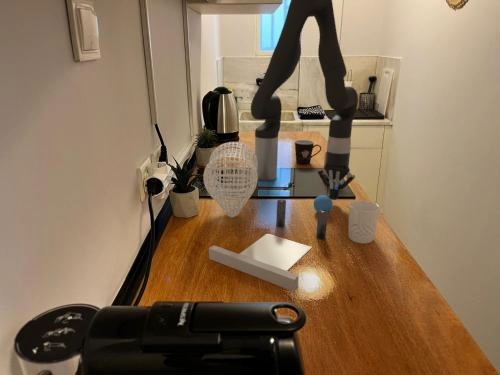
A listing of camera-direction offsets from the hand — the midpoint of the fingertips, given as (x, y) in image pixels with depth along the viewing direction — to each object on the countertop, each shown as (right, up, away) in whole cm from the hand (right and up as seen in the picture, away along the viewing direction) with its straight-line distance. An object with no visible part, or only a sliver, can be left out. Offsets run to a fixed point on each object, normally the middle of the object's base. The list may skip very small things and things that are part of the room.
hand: (334, 198), depth 130 cm
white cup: (+2, -11, -23) cm, 25 cm away
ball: (-5, -2, -8) cm, 9 cm away
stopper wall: (-29, -16, -39) cm, 51 cm away
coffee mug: (-3, +15, +46) cm, 48 cm away
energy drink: (+3, +6, +22) cm, 23 cm away
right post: (-9, -10, -22) cm, 26 cm away
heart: (-34, -5, -10) cm, 36 cm away
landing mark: (-22, -13, -30) cm, 39 cm away
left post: (-20, -8, -16) cm, 26 cm away
